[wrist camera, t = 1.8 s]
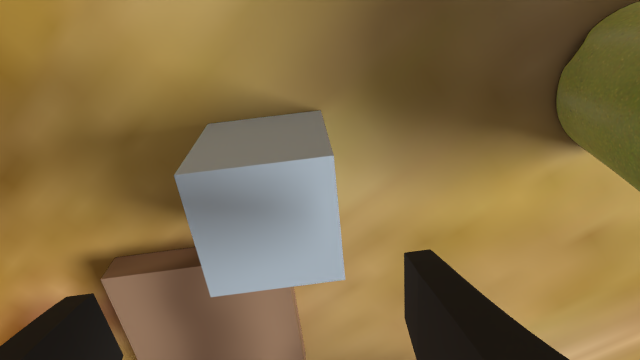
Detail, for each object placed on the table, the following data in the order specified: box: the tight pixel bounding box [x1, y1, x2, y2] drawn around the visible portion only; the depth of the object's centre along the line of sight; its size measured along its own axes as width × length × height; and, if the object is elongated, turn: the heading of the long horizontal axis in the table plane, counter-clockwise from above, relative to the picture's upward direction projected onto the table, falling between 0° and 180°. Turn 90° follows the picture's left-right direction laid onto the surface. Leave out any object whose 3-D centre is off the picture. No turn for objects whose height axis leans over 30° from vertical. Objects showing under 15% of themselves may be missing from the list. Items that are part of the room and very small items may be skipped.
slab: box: [101, 247, 306, 360], centre depth 19 cm, size 8×8×2 cm
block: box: [174, 110, 345, 297], centre depth 14 cm, size 5×5×5 cm
